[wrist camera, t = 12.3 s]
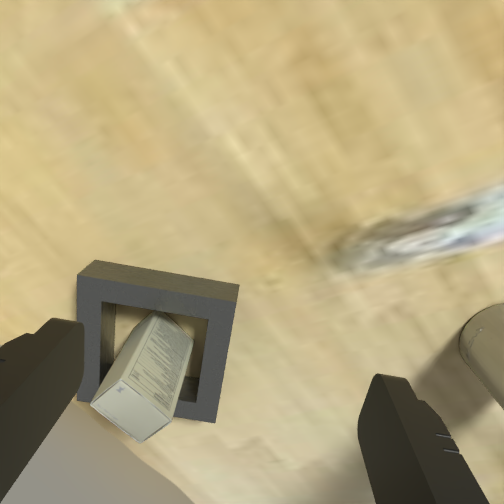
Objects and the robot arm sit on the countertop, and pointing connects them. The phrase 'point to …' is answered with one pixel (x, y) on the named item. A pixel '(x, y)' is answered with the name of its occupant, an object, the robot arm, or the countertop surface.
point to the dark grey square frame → (160, 299)
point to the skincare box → (146, 378)
